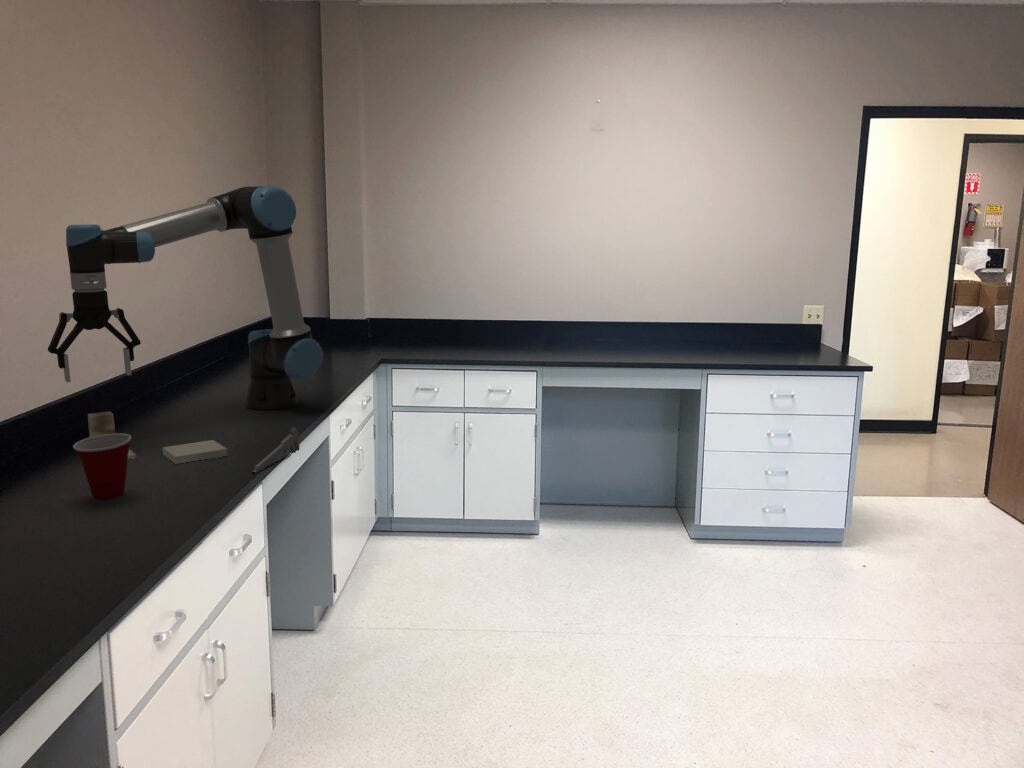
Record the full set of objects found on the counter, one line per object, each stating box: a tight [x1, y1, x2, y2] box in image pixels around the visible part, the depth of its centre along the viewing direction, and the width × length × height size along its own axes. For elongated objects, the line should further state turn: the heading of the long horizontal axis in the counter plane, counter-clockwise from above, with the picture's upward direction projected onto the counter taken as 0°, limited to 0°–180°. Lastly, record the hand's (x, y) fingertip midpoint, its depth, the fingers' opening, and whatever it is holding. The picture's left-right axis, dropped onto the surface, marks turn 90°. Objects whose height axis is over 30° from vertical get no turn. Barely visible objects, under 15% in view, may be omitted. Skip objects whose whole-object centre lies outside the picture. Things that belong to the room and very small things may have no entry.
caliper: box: [252, 427, 300, 473], centre depth 200 cm, size 20×1×6 cm, turn 166°
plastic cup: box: [72, 432, 132, 501], centre depth 174 cm, size 11×11×12 cm
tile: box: [162, 439, 228, 465], centre depth 205 cm, size 12×2×10 cm
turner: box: [87, 411, 138, 460], centre depth 208 cm, size 8×23×8 cm, turn 37°
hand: (98, 378), depth 208 cm, fingers open, 13 cm apart
